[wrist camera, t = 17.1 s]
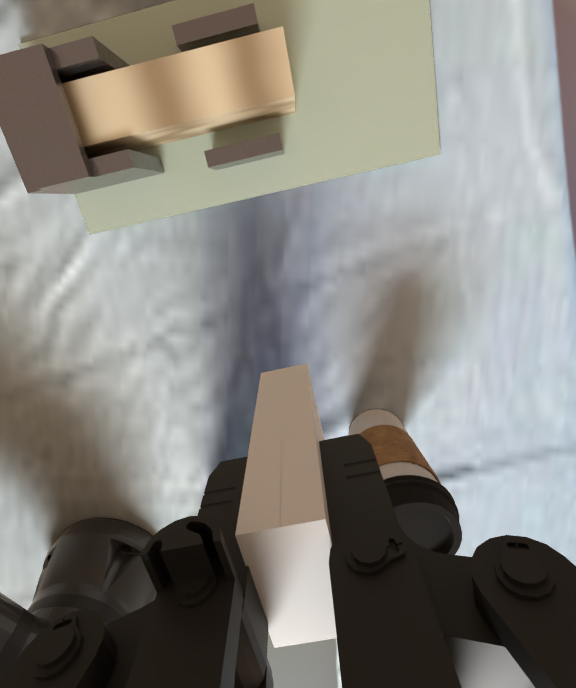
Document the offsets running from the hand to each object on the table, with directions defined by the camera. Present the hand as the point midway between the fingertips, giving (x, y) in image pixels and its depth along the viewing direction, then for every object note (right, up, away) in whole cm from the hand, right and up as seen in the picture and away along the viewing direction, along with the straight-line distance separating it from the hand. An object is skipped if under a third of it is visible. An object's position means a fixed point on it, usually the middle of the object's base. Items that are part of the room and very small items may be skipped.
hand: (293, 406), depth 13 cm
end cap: (-15, +20, +21) cm, 33 cm away
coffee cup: (+9, -8, +31) cm, 33 cm away
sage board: (-4, +22, +20) cm, 30 cm away
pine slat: (-9, +21, +20) cm, 31 cm away
